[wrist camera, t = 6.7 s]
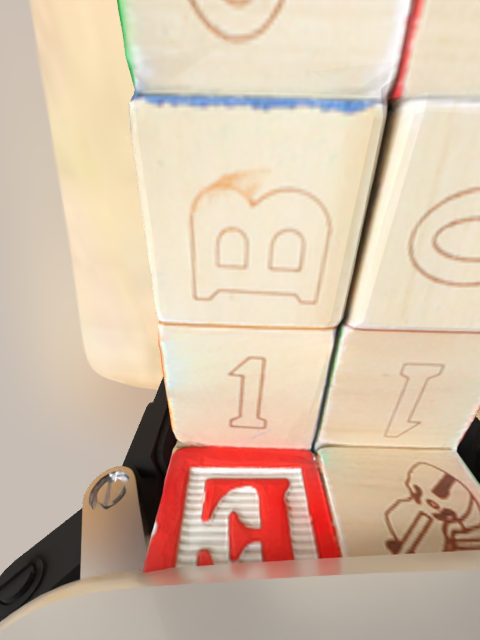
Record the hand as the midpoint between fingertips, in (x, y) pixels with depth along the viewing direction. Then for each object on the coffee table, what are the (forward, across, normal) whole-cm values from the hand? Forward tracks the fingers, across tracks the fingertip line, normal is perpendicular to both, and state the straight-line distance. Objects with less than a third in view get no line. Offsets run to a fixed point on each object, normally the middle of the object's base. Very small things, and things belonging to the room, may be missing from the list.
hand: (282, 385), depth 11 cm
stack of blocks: (+5, 0, 0) cm, 5 cm away
